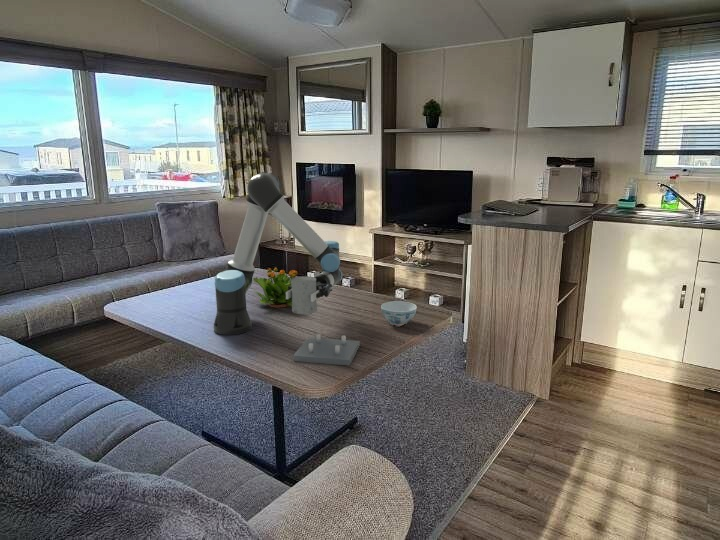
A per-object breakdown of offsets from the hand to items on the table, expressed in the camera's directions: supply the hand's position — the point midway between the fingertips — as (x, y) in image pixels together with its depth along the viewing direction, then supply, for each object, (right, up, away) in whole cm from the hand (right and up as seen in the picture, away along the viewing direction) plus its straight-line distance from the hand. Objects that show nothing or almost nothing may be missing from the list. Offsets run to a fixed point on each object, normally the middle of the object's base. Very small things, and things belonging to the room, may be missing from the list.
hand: (299, 296), depth 185 cm
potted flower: (-17, -7, +51) cm, 54 cm away
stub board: (+11, -20, -7) cm, 24 cm away
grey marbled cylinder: (+1, -6, +6) cm, 8 cm away
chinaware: (+39, -13, +25) cm, 48 cm away
